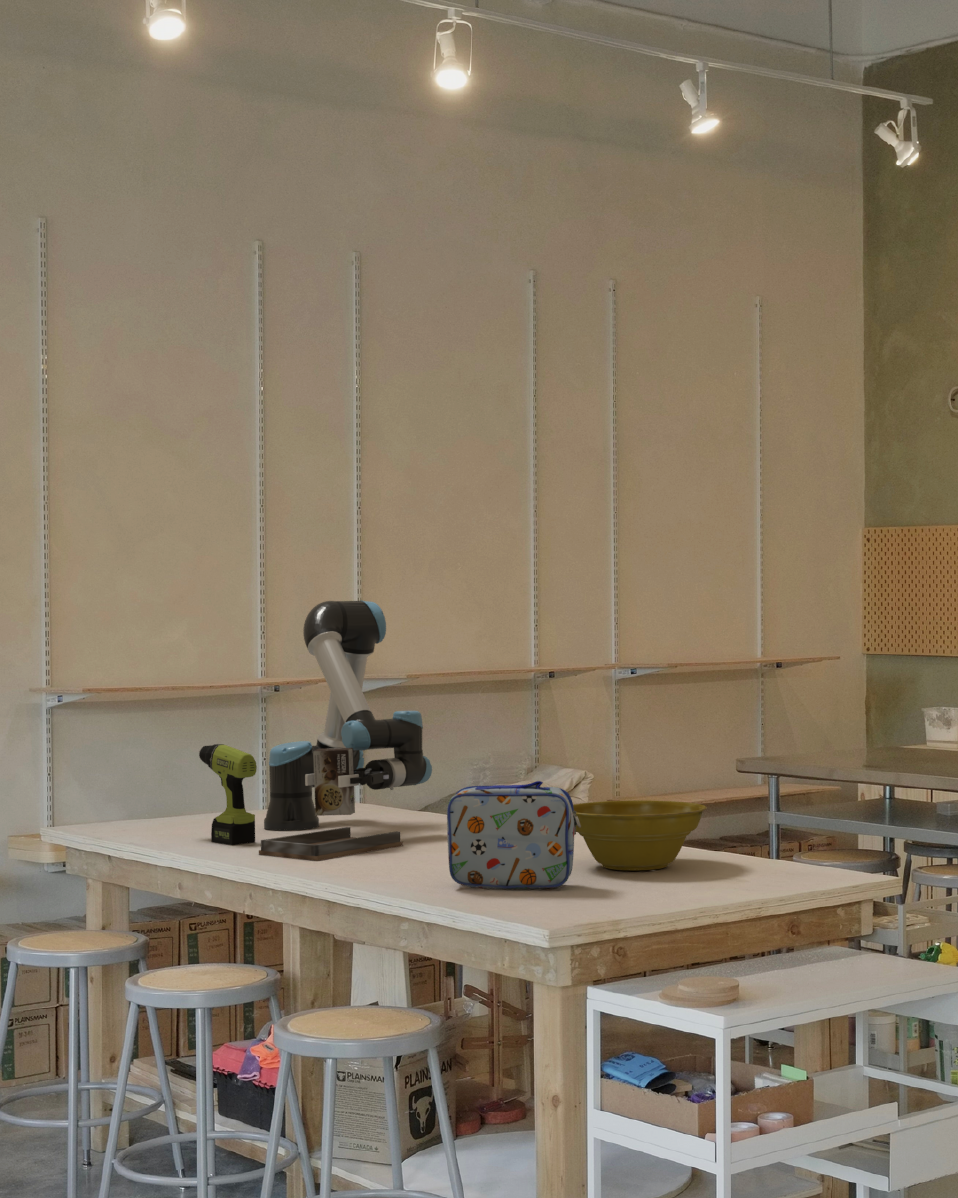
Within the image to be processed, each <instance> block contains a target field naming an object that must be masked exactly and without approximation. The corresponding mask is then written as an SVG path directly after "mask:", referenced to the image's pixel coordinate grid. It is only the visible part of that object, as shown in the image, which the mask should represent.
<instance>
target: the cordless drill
mask: <svg viewBox="0 0 958 1198" xmlns="http://www.w3.org/2000/svg"><path fill="white" fill-rule="evenodd" d="M198 752H199V753H198V757H199V758H200V760H201V761H202V762H203V763H204V764H205V765H207V767H208V768H209V769H210V770H211V771H213V772H214V773H215V774H216V775H217V776H218V777H219V778H220V783H221V786H222V787H223V788H224V790H225V795H226V796H225V797H226V807H225V809H224V811H223V812H222V813H220V814H218V815H217V816H215V817H214V818H213V820H212V822H211V831H210V832H211V833H210V835H211V836H210V838H211V840H210V841H211V843H215V844H222V845H229V846H238V845H244V844H246V845H247V844H252V843H256V814H253V813H252V812H247V809H246V807H245V794H244V785H243V780H244V779H245V778H251V777H254V776H255V775H256V773H257V770H258V769H257V768H258V767H257V762H256V759H255V757H254V756H253V755H252V754H250V753H248V752H245V751H243V750H240V749H237V748H236V747H232V746H230V745H228V744H227V745H226V744H223V743H216V744H212V745H211V744H210V745H204V746H203V747H201V748H200V750H199V751H198Z"/></svg>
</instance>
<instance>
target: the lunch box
mask: <svg viewBox="0 0 958 1198" xmlns="http://www.w3.org/2000/svg"><path fill="white" fill-rule="evenodd" d="M543 783H544V782H543V781H541V780H537V781H534V782H531V783H526V784H510V785H508V784H506V785H505V784H504V785H502V784H501V785H499V784H498V785H471V786H466V787H464V788H460V789H459V790H458V791H457V792H456V793H455V794H454V795H453V796H451V798H450V799H449V802H448V803H447V806H446V825H447V829H446V830H447V852H448V856H447V857H448V870H449V875H450V877H451V879H452V880H453V881H454V883H457V884H458V885H461V886H464V887H469V888H478V889H479V888H480V889H496V890H497V889H498V890H503V889H504V890H509V889H511V890H513V889H516V890H517V889H518V890H521V889H522V890H532V889H533V890H535V889H548V888H551V889H552V888H558V887H561V886H564V884H565V883H566V882H567V881H568V880H569V877H570V876H571V874H572V871H573V866H574V851H575V835H577V832H576V825H578V827H579V828H580V827H581V825H580V822H579V819H578V817H577V816H576V811H574V808H573V805H574V803H573V799H572V797H571V795H570V793H568V791H567V790H565V789H563V788H561V787H553V786H542V785H543Z"/></svg>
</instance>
